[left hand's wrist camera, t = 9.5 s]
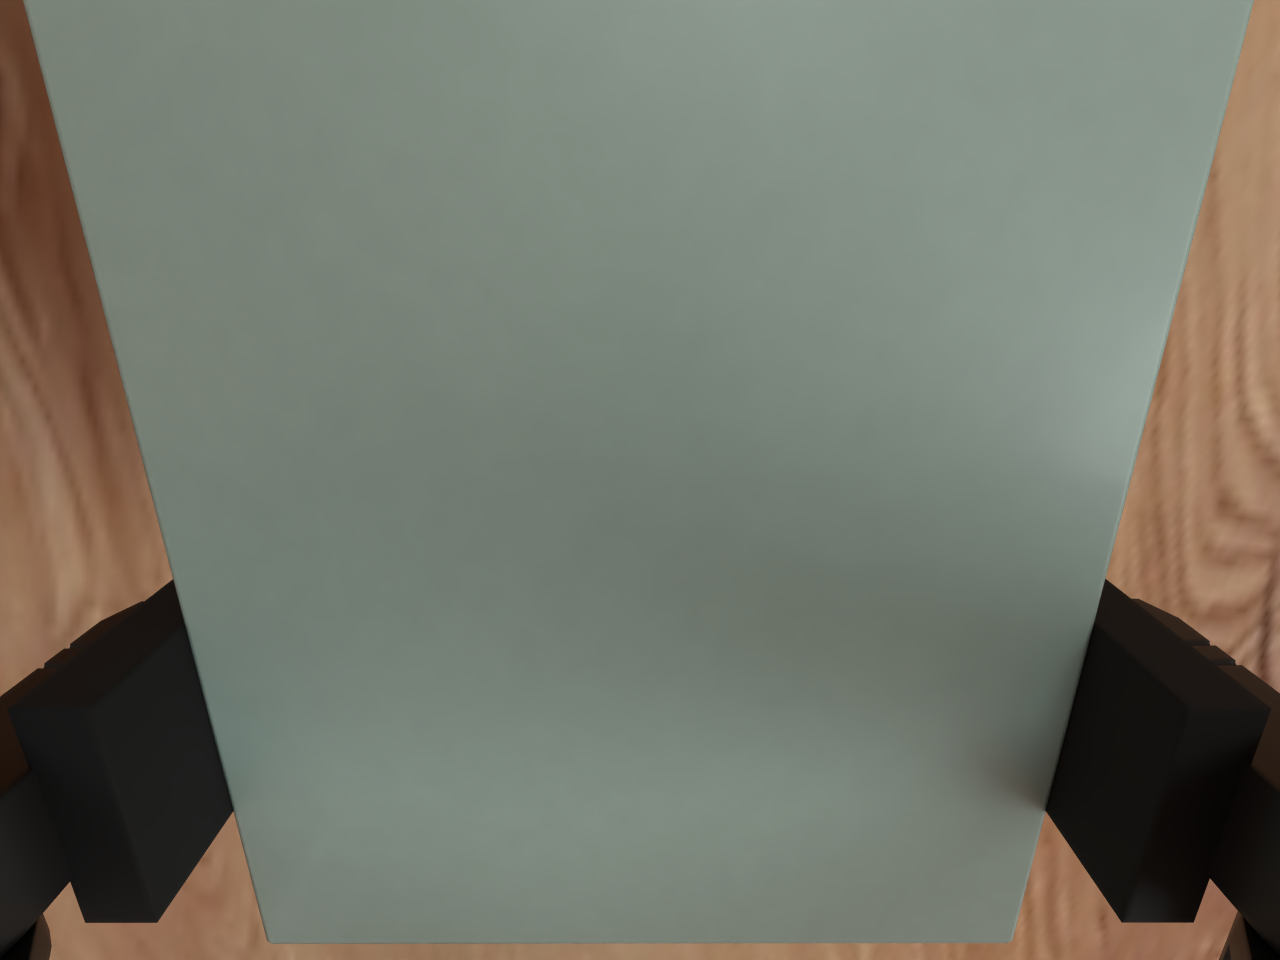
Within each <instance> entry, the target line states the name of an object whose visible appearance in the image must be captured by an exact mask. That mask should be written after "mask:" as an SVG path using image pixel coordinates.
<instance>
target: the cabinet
mask: <svg viewBox="0 0 1280 960" xmlns="http://www.w3.org/2000/svg"><path fill="white" fill-rule="evenodd" d="M23 2H24V6H25V10H26V14H27V17H28V21H29V25H30V29H31V33H32V37H33V41H34V44H35V48H36V52H37V56H38V60H39V64H40V68H41V71H42V75H43V79H44V83H45V87H46V91H47V94H48V98H49V102H50V106H51V110H52V114H53V118H54V121H55V125H56V129H57V133H58V137H59V141H60V145H61V148H62V152H63V156H64V160H65V164H66V168H67V171H68V175H69V179H70V183H71V187H72V191H73V195H74V198H75V202H76V206H77V210H78V214H79V218H80V222H81V225H82V229H83V233H84V237H85V241H86V245H87V249H88V252H89V256H90V260H91V264H92V268H93V272H94V275H95V279H96V283H97V287H98V291H99V295H100V299H101V302H102V306H103V310H104V314H105V318H106V322H107V326H108V329H109V333H110V337H111V341H112V345H113V349H114V352H115V356H116V360H117V364H118V368H119V372H120V376H121V379H122V383H123V387H124V391H125V395H126V399H127V403H128V406H129V410H130V414H131V418H132V422H133V426H134V429H135V433H136V437H137V441H138V445H139V449H140V453H141V456H142V460H143V464H144V468H145V472H146V476H147V480H148V483H149V487H150V491H151V495H152V499H153V503H154V506H155V510H156V514H157V518H158V522H159V526H160V530H161V533H162V537H163V541H164V545H165V549H166V553H167V557H168V560H169V564H170V568H171V572H172V576H173V580H174V583H175V587H176V591H177V595H178V599H179V603H180V607H181V610H182V614H183V618H184V622H185V626H186V630H187V634H188V637H189V641H190V645H191V649H192V653H193V657H194V661H195V664H196V668H197V672H198V676H199V680H200V684H201V687H202V691H203V695H204V699H205V703H206V707H207V711H208V714H209V718H210V722H211V726H212V730H213V734H214V738H215V741H216V745H217V749H218V753H219V757H220V761H221V764H222V768H223V772H224V776H225V780H226V784H227V788H228V791H229V795H230V799H231V803H232V807H233V811H234V815H235V818H236V822H237V826H238V830H239V834H240V838H241V841H242V845H243V849H244V853H245V857H246V861H247V865H248V868H249V872H250V876H251V880H252V884H253V888H254V892H255V895H256V899H257V903H258V907H259V911H260V915H261V918H262V922H263V926H264V930H265V934H266V938H267V941H268V942H270V943H272V944H420V943H1008V942H1011V941H1012V940H1013V936H1014V932H1015V928H1016V924H1017V920H1018V916H1019V912H1020V908H1021V905H1022V901H1023V897H1024V893H1025V889H1026V885H1027V881H1028V877H1029V873H1030V870H1031V866H1032V862H1033V858H1034V854H1035V850H1036V846H1037V842H1038V838H1039V835H1040V831H1041V827H1042V823H1043V819H1044V815H1045V811H1046V807H1047V803H1048V800H1049V796H1050V792H1051V788H1052V784H1053V780H1054V776H1055V772H1056V768H1057V764H1058V761H1059V757H1060V753H1061V749H1062V745H1063V741H1064V737H1065V733H1066V729H1067V726H1068V722H1069V718H1070V714H1071V710H1072V706H1073V702H1074V698H1075V694H1076V691H1077V687H1078V683H1079V679H1080V675H1081V671H1082V667H1083V663H1084V659H1085V656H1086V652H1087V648H1088V644H1089V640H1090V636H1091V632H1092V628H1093V624H1094V621H1095V617H1096V613H1097V609H1098V605H1099V601H1100V597H1101V593H1102V589H1103V585H1104V582H1105V578H1106V574H1107V570H1108V566H1109V562H1110V558H1111V554H1112V550H1113V547H1114V543H1115V539H1116V535H1117V531H1118V527H1119V523H1120V519H1121V515H1122V512H1123V508H1124V504H1125V500H1126V496H1127V492H1128V488H1129V484H1130V480H1131V477H1132V473H1133V469H1134V465H1135V461H1136V457H1137V453H1138V449H1139V445H1140V441H1141V438H1142V434H1143V430H1144V426H1145V422H1146V418H1147V414H1148V410H1149V406H1150V403H1151V399H1152V395H1153V391H1154V387H1155V383H1156V379H1157V375H1158V371H1159V368H1160V364H1161V360H1162V356H1163V352H1164V348H1165V344H1166V340H1167V336H1168V333H1169V329H1170V325H1171V321H1172V317H1173V313H1174V309H1175V305H1176V301H1177V297H1178V294H1179V290H1180V286H1181V282H1182V278H1183V274H1184V270H1185V266H1186V262H1187V259H1188V255H1189V251H1190V247H1191V243H1192V239H1193V235H1194V231H1195V227H1196V224H1197V220H1198V216H1199V212H1200V208H1201V204H1202V200H1203V196H1204V192H1205V189H1206V185H1207V181H1208V177H1209V173H1210V169H1211V165H1212V161H1213V157H1214V154H1215V150H1216V146H1217V142H1218V138H1219V134H1220V130H1221V126H1222V122H1223V118H1224V115H1225V111H1226V107H1227V103H1228V99H1229V95H1230V91H1231V87H1232V83H1233V80H1234V76H1235V72H1236V68H1237V64H1238V60H1239V56H1240V52H1241V48H1242V45H1243V41H1244V37H1245V33H1246V29H1247V25H1248V21H1249V17H1250V13H1251V10H1252V6H1253V2H1254V0H23Z"/></svg>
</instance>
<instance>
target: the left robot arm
mask: <svg viewBox="0 0 1280 960" xmlns="http://www.w3.org/2000/svg"><path fill="white" fill-rule="evenodd" d="M1209 642H1210V641H1209V640H1207V639H1206V638H1205V637H1203V636H1202V635H1201V634H1199V633H1198V632H1197V631H1195V630H1194V629H1193V628H1191V627H1190V626H1189V625H1187V624H1186V623H1185V622H1183V621H1182V620H1181V619H1179V618H1178V617H1175V616H1173V615H1171V614H1169V613H1167V612H1165V611H1163V610H1161V609H1159V608H1157V607H1154V606H1152V605H1150V604H1148V603H1146V602H1144V601H1142V600H1140V599H1131V598H1129V597H1128V596H1127V595H1126V594H1124V593H1123V592H1122V591H1120V590H1119V589H1118V588H1117V587H1115V586H1114V585H1113V584H1111V583H1110V582H1109V581H1108V580H1106V579H1105V582H1104V585H1103V589H1102V593H1101V597H1100V601H1099V605H1098V609H1097V613H1096V617H1095V621H1094V624H1093V628H1092V632H1091V636H1090V640H1089V644H1088V648H1087V652H1086V656H1085V659H1084V663H1083V667H1082V671H1081V675H1080V679H1079V683H1078V687H1077V691H1076V694H1075V698H1074V702H1073V706H1072V710H1071V714H1070V718H1069V722H1068V726H1067V729H1066V733H1065V737H1064V741H1063V745H1062V749H1061V753H1060V757H1059V761H1058V764H1057V768H1056V772H1055V776H1054V780H1053V784H1052V788H1051V792H1050V796H1049V800H1048V803H1047V807H1046V812H1047V813H1048V815H1049V816H1050V818H1051V819H1052V821H1053V822H1054V824H1055V825H1056V827H1057V828H1058V829H1059V831H1060V832H1061V834H1062V835H1063V837H1064V838H1065V840H1066V841H1067V843H1068V844H1069V846H1070V847H1071V849H1072V850H1073V851H1074V853H1075V854H1076V856H1077V857H1078V859H1079V860H1080V862H1081V863H1082V865H1083V866H1084V868H1085V869H1086V871H1087V872H1088V873H1089V875H1090V876H1091V878H1092V879H1093V881H1094V882H1095V884H1096V885H1097V887H1098V888H1099V890H1100V891H1101V893H1102V894H1103V895H1104V897H1105V898H1106V900H1107V901H1108V903H1109V904H1110V906H1111V907H1112V909H1113V910H1114V912H1115V913H1116V915H1117V916H1118V917H1119V919H1120V920H1121V922H1194V920H1195V917H1196V914H1197V912H1198V909H1199V906H1200V904H1201V901H1202V898H1203V895H1204V893H1205V890H1206V887H1207V884H1208V882H1209V879H1211V880H1212V881H1213V882H1214V883H1215V885H1216V886H1217V887H1218V888H1219V889H1220V890H1221V891H1222V893H1223V894H1224V895H1225V896H1226V897H1227V898H1228V900H1229V901H1230V902H1231V903H1232V904H1233V905H1234V907H1235V908H1236V909H1237V910H1238V912H1237V915H1236V917H1235V920H1234V922H1233V925H1232V928H1231V930H1230V933H1229V935H1228V938H1227V940H1226V943H1225V945H1224V948H1223V951H1222V953H1221V956H1220V958H1219V960H1280V693H1278V692H1277V691H1276V690H1274V689H1273V688H1272V687H1270V686H1269V685H1268V684H1266V683H1265V682H1264V681H1262V680H1261V679H1260V678H1258V677H1257V676H1256V675H1254V674H1253V673H1252V672H1250V671H1249V670H1248V669H1246V668H1245V667H1244V666H1242V665H1236V663H1235V660H1234V659H1233V658H1232V657H1230V656H1229V655H1228V654H1226V653H1225V652H1224V651H1222V650H1221V649H1220V648H1218V647H1217V646H1210V643H1209ZM44 664H45V666H44V668H38V669H36V670H35V671H34V672H32V673H31V674H30V675H28V676H27V677H26V678H24V679H23V680H22V681H20V682H19V683H18V684H16V685H15V686H14V687H12V688H11V689H10V690H9V691H7V692H6V693H5V694H3V695H2V696H1V697H0V960H49V957H50V952H51V947H52V946H51V938H50V931H49V928H48V925H47V922H46V920H45V917H44V915H43V912H44V911H45V910H46V909H47V908H48V906H49V905H50V904H51V903H52V902H53V901H54V899H55V898H56V897H57V896H58V895H59V894H60V892H61V891H62V890H63V889H64V888H65V887H66V885H67V884H68V883H69V882H71V885H72V887H73V890H74V893H75V896H76V898H77V901H78V904H79V907H80V909H81V912H82V915H83V918H84V920H85V923H157V922H158V921H159V919H160V918H161V916H162V915H163V913H164V912H165V910H166V909H167V907H168V906H169V904H170V903H171V902H172V900H173V899H174V897H175V896H176V894H177V893H178V891H179V890H180V888H181V887H182V885H183V884H184V882H185V881H186V880H187V878H188V877H189V875H190V874H191V872H192V871H193V869H194V868H195V866H196V865H197V863H198V862H199V860H200V859H201V858H202V856H203V855H204V853H205V852H206V850H207V849H208V847H209V846H210V844H211V843H212V841H213V840H214V838H215V837H216V836H217V834H218V833H219V831H220V830H221V828H222V827H223V825H224V824H225V822H226V821H227V819H228V818H229V816H230V815H231V814H232V812H233V807H232V803H231V799H230V795H229V791H228V788H227V784H226V780H225V776H224V772H223V768H222V764H221V761H220V757H219V753H218V749H217V745H216V741H215V738H214V734H213V730H212V726H211V722H210V718H209V714H208V711H207V707H206V703H205V699H204V695H203V691H202V687H201V684H200V680H199V676H198V672H197V668H196V664H195V661H194V657H193V653H192V649H191V645H190V641H189V637H188V634H187V630H186V626H185V622H184V618H183V614H182V610H181V607H180V603H179V599H178V595H177V591H176V587H175V583H174V580H171V581H170V582H169V583H168V584H166V585H165V586H164V587H162V588H161V589H160V590H159V591H157V592H156V593H155V594H154V595H152V596H151V597H150V598H148V599H147V600H146V601H145V602H139V603H137V604H135V605H133V606H131V607H129V608H127V609H125V610H123V611H121V612H119V613H116V614H114V615H112V616H110V617H108V618H106V619H104V620H102V621H100V622H99V623H98V624H96V625H95V626H94V627H92V628H91V629H90V630H88V631H87V632H86V633H84V634H83V635H82V636H80V637H79V638H78V639H76V640H75V641H74V642H72V643H71V644H70V648H69V649H63V650H62V651H60V652H59V653H58V654H56V655H55V656H54V657H52V658H51V659H50V660H48V661H47V662H46V663H44Z"/></svg>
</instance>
